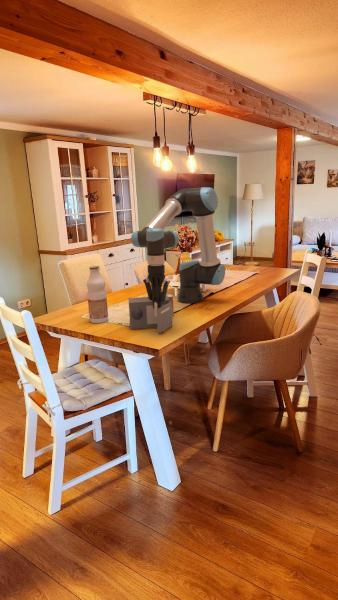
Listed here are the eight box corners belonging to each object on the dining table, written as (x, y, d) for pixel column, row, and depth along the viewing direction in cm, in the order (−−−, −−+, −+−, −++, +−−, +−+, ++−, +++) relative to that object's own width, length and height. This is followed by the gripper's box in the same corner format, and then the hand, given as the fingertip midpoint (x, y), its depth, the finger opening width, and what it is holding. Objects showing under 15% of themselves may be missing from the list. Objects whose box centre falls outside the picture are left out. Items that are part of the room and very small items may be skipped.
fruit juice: (97, 324, 196) (92, 268, 189) (86, 321, 203) (80, 267, 196) (112, 320, 203) (107, 265, 196) (100, 317, 209) (96, 264, 202)
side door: (170, 325, 189) (169, 301, 186) (173, 325, 188) (172, 301, 185) (157, 333, 178) (156, 308, 175) (160, 334, 178) (159, 308, 175)
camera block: (168, 320, 198) (167, 293, 194) (171, 327, 188) (169, 299, 184) (130, 323, 196) (128, 296, 192) (130, 330, 186) (128, 301, 182)
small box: (158, 317, 204) (157, 297, 201) (156, 314, 209) (155, 295, 207) (173, 316, 205) (173, 296, 203) (171, 313, 211) (170, 293, 208)
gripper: (139, 264, 175) (141, 316, 181) (164, 266, 169) (165, 319, 175) (148, 262, 181) (149, 311, 187) (172, 264, 175) (173, 315, 181)
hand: (157, 315), depth 181 cm, fingers closed
